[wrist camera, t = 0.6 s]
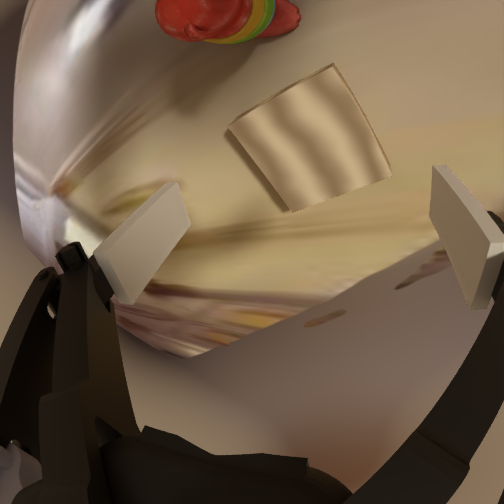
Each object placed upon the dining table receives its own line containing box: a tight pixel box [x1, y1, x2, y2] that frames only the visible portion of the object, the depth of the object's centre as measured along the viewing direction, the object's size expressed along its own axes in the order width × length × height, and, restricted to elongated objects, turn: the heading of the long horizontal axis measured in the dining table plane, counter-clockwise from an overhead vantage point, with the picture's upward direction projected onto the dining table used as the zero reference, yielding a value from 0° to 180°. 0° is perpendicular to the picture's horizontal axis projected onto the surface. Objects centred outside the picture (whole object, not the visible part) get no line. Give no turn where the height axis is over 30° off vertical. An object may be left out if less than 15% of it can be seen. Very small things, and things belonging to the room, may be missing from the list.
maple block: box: [227, 63, 392, 213], centre depth 38 cm, size 16×16×4 cm
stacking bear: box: [155, 0, 301, 44], centre depth 21 cm, size 11×10×18 cm
